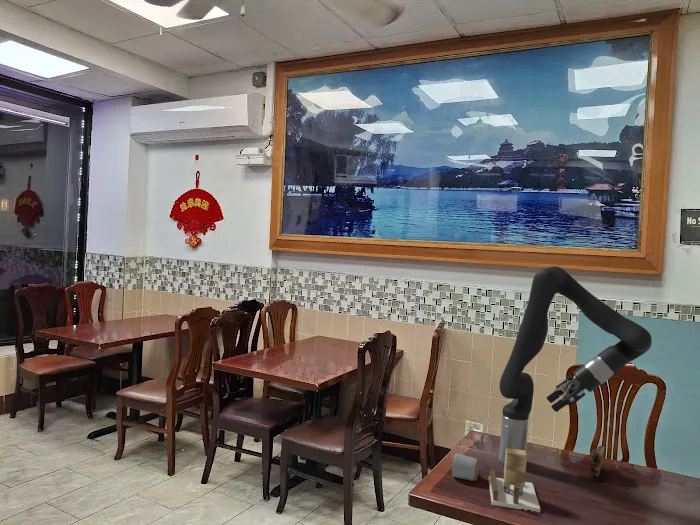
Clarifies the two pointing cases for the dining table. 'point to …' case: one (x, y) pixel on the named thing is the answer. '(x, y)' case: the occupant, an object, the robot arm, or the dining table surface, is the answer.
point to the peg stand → (506, 500)
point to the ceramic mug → (465, 467)
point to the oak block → (515, 467)
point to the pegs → (507, 489)
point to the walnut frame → (495, 489)
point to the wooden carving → (596, 460)
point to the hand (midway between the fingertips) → (550, 404)
